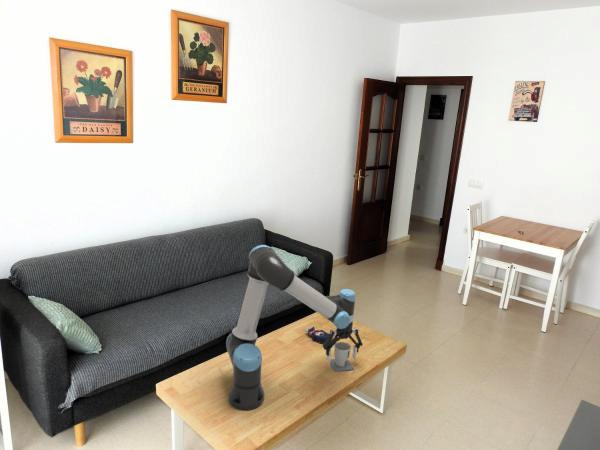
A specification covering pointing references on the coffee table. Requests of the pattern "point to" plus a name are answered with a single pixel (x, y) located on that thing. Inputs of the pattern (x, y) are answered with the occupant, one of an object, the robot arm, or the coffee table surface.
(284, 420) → the coffee table surface
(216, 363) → the coffee table surface
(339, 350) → the cup
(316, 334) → the figurine
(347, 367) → the coaster
